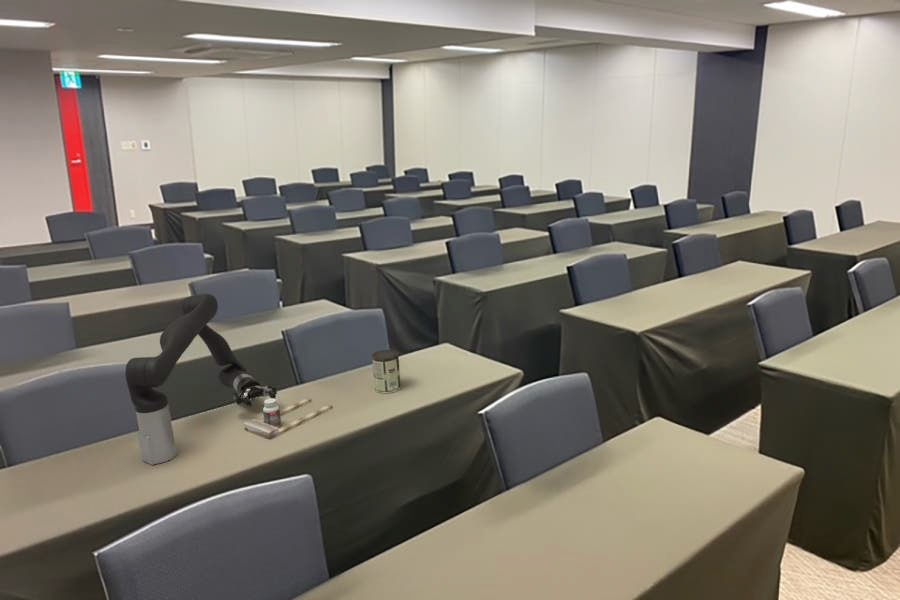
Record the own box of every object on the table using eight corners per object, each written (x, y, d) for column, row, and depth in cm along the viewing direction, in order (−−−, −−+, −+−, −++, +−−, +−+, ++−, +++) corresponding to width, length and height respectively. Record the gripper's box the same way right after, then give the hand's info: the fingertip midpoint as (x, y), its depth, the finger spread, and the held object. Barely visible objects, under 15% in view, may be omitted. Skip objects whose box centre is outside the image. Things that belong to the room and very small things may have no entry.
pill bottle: (273, 431, 213) (270, 405, 211) (261, 428, 216) (258, 402, 213) (284, 425, 218) (281, 398, 215) (273, 422, 220) (270, 396, 218)
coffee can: (385, 381, 251) (382, 348, 247) (406, 385, 246) (403, 351, 242) (368, 390, 243) (365, 356, 239) (390, 395, 237) (387, 360, 234)
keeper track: (269, 439, 208) (268, 432, 207) (244, 429, 215) (243, 423, 215) (332, 408, 229) (331, 401, 228) (307, 400, 237) (307, 394, 236)
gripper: (225, 382, 228) (240, 396, 215) (264, 371, 236) (280, 384, 223) (228, 401, 230) (243, 416, 217) (266, 390, 238) (283, 404, 225)
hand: (262, 400), depth 220 cm, fingers open, 8 cm apart
